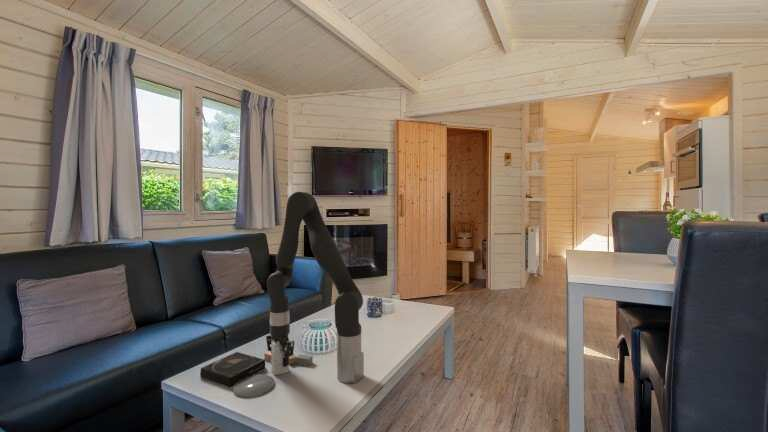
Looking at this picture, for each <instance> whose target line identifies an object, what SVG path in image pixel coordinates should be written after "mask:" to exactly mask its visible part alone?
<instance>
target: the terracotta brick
mask: <svg viewBox="0 0 768 432" xmlns="http://www.w3.org/2000/svg"><path fill="white" fill-rule="evenodd" d="M263 354H264V360H265V361H267V362H270V363H271V351H268V350H267V351H266V352H264V353H263Z"/></svg>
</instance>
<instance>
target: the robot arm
mask: <svg viewBox="0 0 768 432" xmlns="http://www.w3.org/2000/svg"><path fill="white" fill-rule="evenodd" d="M302 221H303V223H304V224H305V227H306V230H307V232H308V238H309V244H310V250H311V252H312V255H313V256H314V258H315V260H316V263H317V264H318V266H319V268H320V269H321V270H322V271H323V272H324V273H325V274H326V275H327V276H328V277H329V279H330V280H331V281H332V283H333V284H334V287H335V288H336V291H337V294H338V296H337V297H336V299H335V302H334V324H335V328H336V363H337V364H336V367H337V371H336V372H337V373H336V377H337V380H338V381H339V382H342V383H345V384H355V383H357V382H358V381H359V380H361V379H362V378H364V377H365V373H364V369H365V366H364V365H365V363H364V359H365V358H364V355H365V354H364V352H363V351H362V325H361V324H360V320H359V319H360V313H359V312H360V310H361V309H362V307H363V305H364V298H363V295H362V293H361V291H360V289H359V288H358V286H357V285H356V283H355V281H354V280H353V278H352V276H351V275H350V272H349V271H348V269H347V267H346V266H347V265H346V263H345V261H344V260H343V257H342V255H341V253H340V250H339V248H338V246H337V245H336V243H335V241H334V238H333V237H332V235H331V233H330V230H329V229H328V227H327V225H326V223H325V221H324V218H323V216H322V214H321V211H320V208H319V205H318V203H317V200H316V198H315V197H314V195H312V194H311V193H309V192H306V191H294V192H292V193H291V194H290V195H289V196H288V198H287V202H286V209H285V217H284V224H283V225H284V226H283V229H282V230H283V231H282V234H281V239H280V244H279V246H278V250H277V254H276V258H275V264H276V265H277V266H276V270H275V272H273V273H271V274H270V275H269V276H268V278H267V280H266V290H267V294H268V298H269V301H270V302H269V303H270V304H269V309H270V310H269V334H268V335H266V336H265V339H266V340H265V341H266V345H267V348H266V349H267V352H268V351H271V341H272V342H274V343H275V342H277V343H278V345H279V348H280V352H282V355H283V366H284V367H286V366H288V364H289V356H291V355H293V354H294V351H295V350H294V349H295V341H294V340H292V341H291V340H290V339H289V334H290V332H291V331H290V330H291V329H290V326H291V325H290V324H291V322H290V320H291V319H290V307H289V305H290V301H289V296H288V295H286V292H285V291H286V290H285V289H286V287H288V286H289V285H290V284H291V281H292V279H293V274H294V273H293V271H294V262H295V260H296V258H297V254H298V250H299V241H300V239H299V237H300V236H299V235H300V229H301V228H300V227H301V225H302ZM286 345H287V348H285V349H283V348H284V347H286ZM285 351H286V354H285Z"/></svg>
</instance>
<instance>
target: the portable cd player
mask: <svg viewBox="0 0 768 432" xmlns="http://www.w3.org/2000/svg"><path fill="white" fill-rule="evenodd" d="M265 369H266V360H265V358H260V357H256V356H254V355H253V356H252V355H250V354H246V353H241V352H239V351H235V352H233V353H231V354H229V355H226V356H225V357H223V358H220V359H218V360H216V361H214V362H212V363H209V364H207V365H204V366H202V367H200V373H199V375H200V378H203V379H205V380H208V381H211V382H214V383H216V384H219V385H223V386H224V387H228V388H233V386H234V384H235V383H236V382H237V381H239V380H241V379H243V378H245V377H248V376H252V375H257V374H258V373H260V372H261V371H263V370H265Z"/></svg>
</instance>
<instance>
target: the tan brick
mask: <svg viewBox="0 0 768 432" xmlns="http://www.w3.org/2000/svg"><path fill="white" fill-rule="evenodd" d="M296 357H297V356H296V355H295V354H294V353H293V355H291V356H289V367H290V366H293V365H297V364H296Z"/></svg>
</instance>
